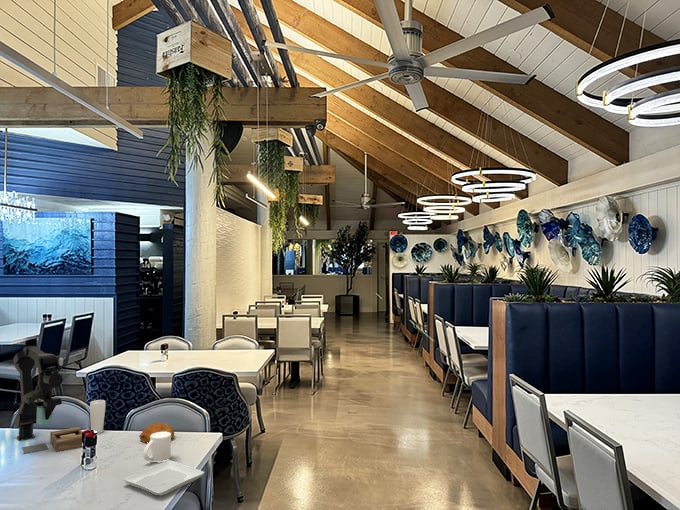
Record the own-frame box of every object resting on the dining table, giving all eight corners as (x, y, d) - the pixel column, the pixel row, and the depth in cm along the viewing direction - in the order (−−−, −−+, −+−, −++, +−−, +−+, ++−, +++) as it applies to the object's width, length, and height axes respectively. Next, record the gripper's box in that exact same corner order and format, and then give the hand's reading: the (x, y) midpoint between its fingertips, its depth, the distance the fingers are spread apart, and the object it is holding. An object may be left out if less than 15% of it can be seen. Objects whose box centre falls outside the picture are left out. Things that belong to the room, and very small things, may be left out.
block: (47, 420, 218) (47, 404, 218) (51, 422, 216) (52, 406, 216) (36, 422, 214) (37, 406, 215) (41, 424, 212) (41, 408, 212)
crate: (50, 442, 221) (50, 431, 222) (79, 436, 229) (79, 426, 229) (56, 452, 209) (56, 441, 209) (86, 446, 217) (87, 436, 217)
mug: (175, 433, 204) (150, 441, 194) (174, 458, 204) (149, 467, 194) (163, 430, 209) (138, 437, 199) (162, 454, 208) (137, 463, 198)
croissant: (160, 436, 237) (160, 419, 238) (179, 438, 228) (179, 421, 230) (133, 443, 226) (132, 426, 227) (152, 446, 217) (151, 428, 218)
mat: (21, 447, 214) (21, 447, 214) (45, 443, 219) (45, 442, 219) (24, 454, 207) (24, 453, 207) (48, 449, 212) (48, 448, 212)
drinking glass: (98, 435, 231) (99, 403, 232) (85, 434, 233) (86, 402, 233) (107, 430, 238) (108, 400, 238) (95, 429, 239) (96, 399, 240)
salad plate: (158, 502, 166) (159, 492, 166) (121, 487, 177) (121, 477, 177) (205, 480, 184) (206, 471, 184) (169, 467, 195) (169, 459, 195)
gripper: (16, 383, 214) (15, 418, 214) (35, 390, 204) (34, 427, 203) (43, 379, 223) (42, 412, 223) (63, 385, 213) (61, 420, 212)
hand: (44, 418), depth 215 cm, fingers closed on block, 4 cm apart
